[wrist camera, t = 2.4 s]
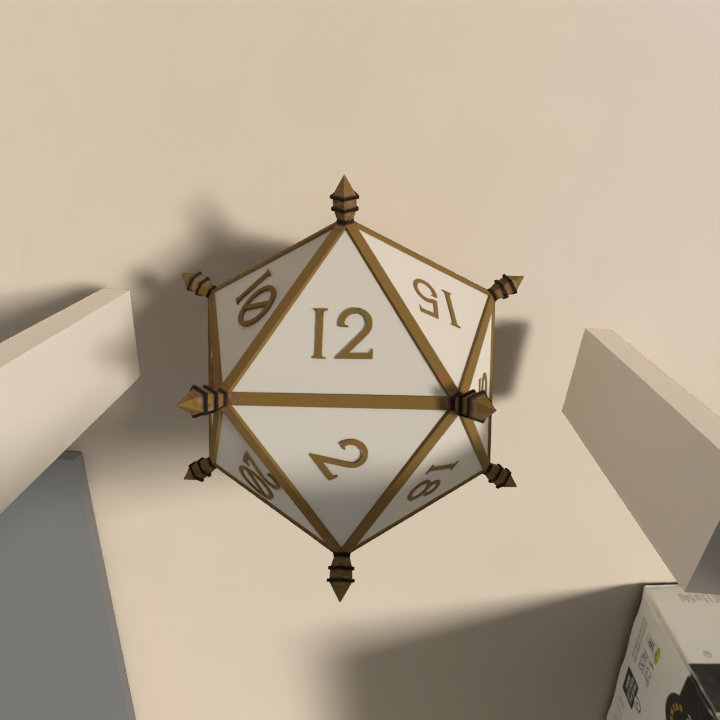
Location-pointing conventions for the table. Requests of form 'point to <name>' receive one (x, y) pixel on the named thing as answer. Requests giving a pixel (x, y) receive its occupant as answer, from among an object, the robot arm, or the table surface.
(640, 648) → the tea box
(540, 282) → the table surface
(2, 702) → the mat
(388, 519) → the game die
